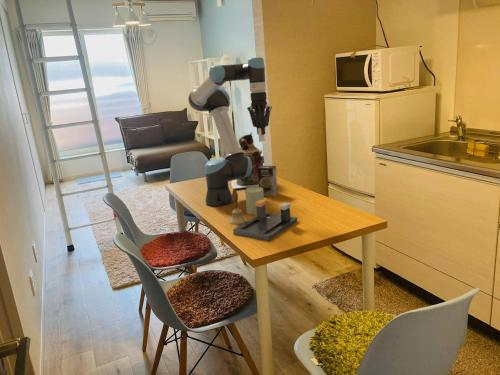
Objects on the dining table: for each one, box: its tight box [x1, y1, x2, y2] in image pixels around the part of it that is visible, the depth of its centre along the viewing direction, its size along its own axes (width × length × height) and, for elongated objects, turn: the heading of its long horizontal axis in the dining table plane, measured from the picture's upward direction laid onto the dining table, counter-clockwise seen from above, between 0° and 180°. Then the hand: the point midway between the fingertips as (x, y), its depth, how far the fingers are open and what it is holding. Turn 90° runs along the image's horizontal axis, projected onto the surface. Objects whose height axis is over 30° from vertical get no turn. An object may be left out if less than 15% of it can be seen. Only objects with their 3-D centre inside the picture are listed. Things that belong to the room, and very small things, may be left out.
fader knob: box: [255, 199, 268, 221], centre depth 183 cm, size 3×5×9 cm
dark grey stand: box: [232, 202, 298, 242], centre depth 177 cm, size 18×24×10 cm
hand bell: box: [228, 188, 248, 226], centre depth 186 cm, size 8×8×16 cm
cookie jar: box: [230, 132, 265, 190], centre depth 248 cm, size 25×25×32 cm
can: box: [244, 187, 265, 216], centre depth 199 cm, size 9×9×12 cm
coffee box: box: [258, 165, 278, 197], centre depth 225 cm, size 9×6×16 cm
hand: (261, 141), depth 195 cm, fingers closed
